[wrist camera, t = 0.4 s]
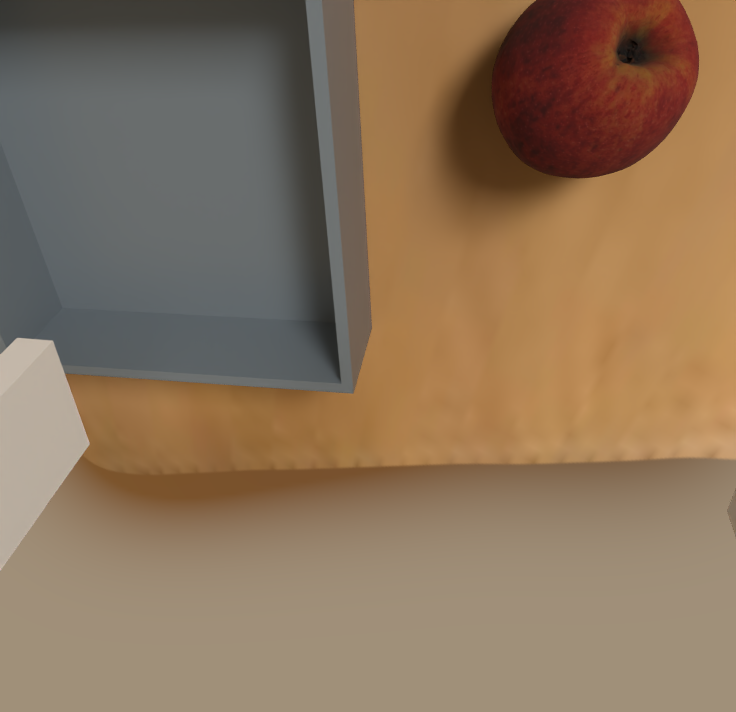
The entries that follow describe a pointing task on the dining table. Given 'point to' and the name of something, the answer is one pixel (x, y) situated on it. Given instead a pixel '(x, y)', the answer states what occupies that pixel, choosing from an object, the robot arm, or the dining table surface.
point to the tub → (185, 189)
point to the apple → (593, 82)
